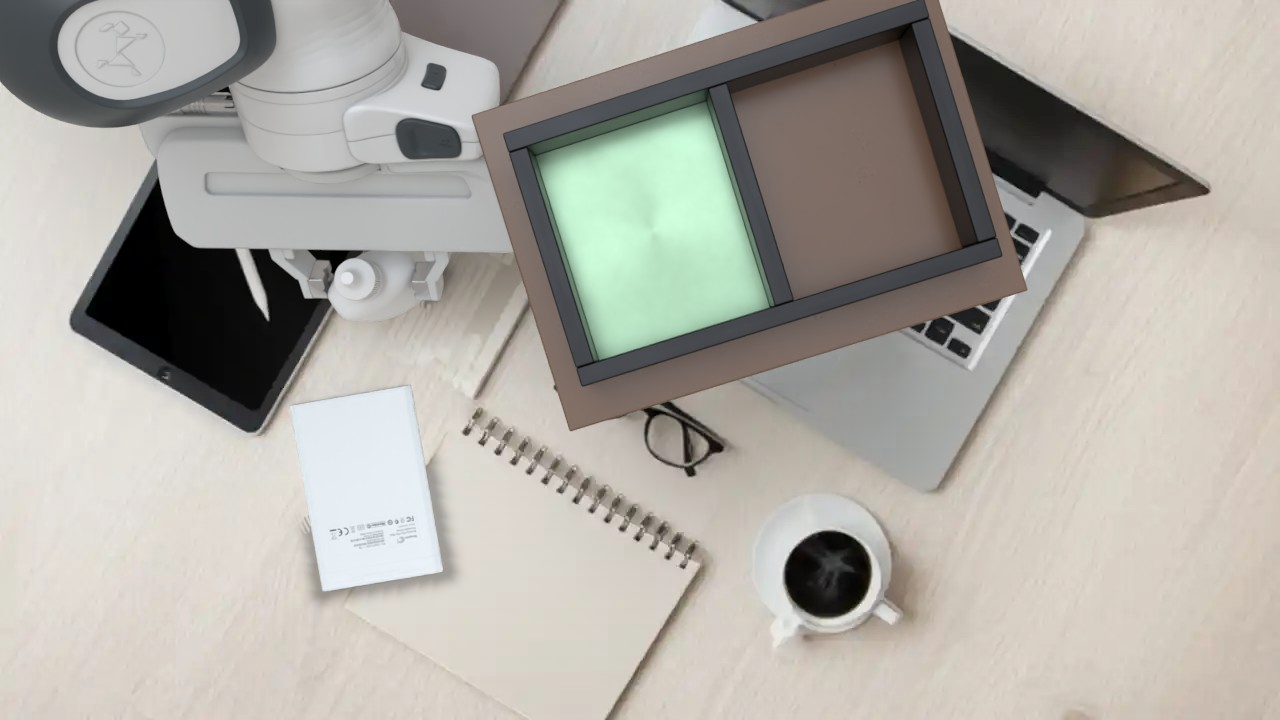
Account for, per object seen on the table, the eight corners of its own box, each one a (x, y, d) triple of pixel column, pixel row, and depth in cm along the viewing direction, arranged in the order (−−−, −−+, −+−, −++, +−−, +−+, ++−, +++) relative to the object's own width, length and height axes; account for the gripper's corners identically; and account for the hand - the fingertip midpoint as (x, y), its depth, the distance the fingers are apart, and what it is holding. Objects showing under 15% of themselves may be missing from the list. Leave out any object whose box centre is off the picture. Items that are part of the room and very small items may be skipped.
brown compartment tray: (475, 120, 47) (458, 102, 44) (922, -24, 46) (943, -55, 43) (572, 429, 48) (563, 437, 44) (1019, 291, 47) (1048, 288, 43)
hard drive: (416, 383, 73) (447, 567, 73) (296, 404, 73) (328, 587, 73) (409, 384, 71) (442, 573, 71) (287, 405, 72) (320, 593, 72)
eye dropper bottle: (358, 257, 73) (293, 243, 61) (441, 250, 72) (393, 233, 60) (364, 323, 73) (300, 321, 61) (447, 316, 73) (400, 312, 61)
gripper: (103, 128, 55) (190, 326, 65) (512, 133, 54) (536, 332, 64) (147, 60, 59) (222, 255, 69) (526, 63, 58) (546, 260, 68)
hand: (376, 292), depth 66 cm, fingers closed on eye dropper bottle, 5 cm apart
